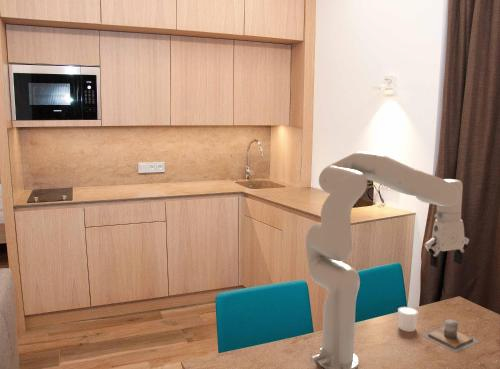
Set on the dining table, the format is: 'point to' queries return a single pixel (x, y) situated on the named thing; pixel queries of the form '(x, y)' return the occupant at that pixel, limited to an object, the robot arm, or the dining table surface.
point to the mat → (449, 346)
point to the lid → (450, 335)
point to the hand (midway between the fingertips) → (446, 264)
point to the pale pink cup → (407, 318)
